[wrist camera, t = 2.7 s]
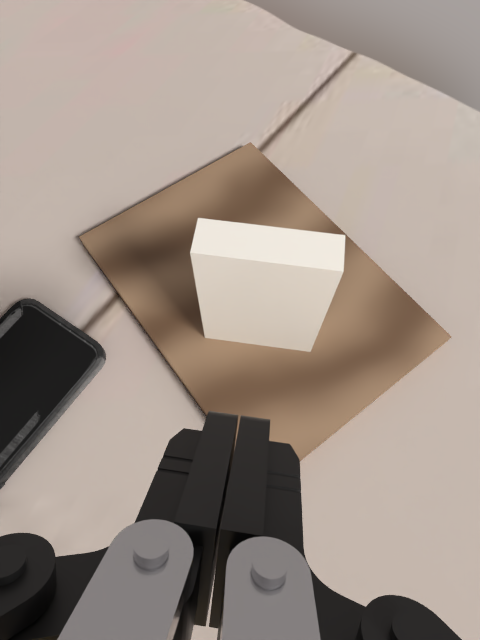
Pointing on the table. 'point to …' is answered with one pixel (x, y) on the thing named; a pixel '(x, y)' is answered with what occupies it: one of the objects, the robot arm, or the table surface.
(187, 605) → the robot arm
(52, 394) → the phone
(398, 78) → the table surface
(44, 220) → the table surface
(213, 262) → the block
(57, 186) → the table surface
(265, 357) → the board
